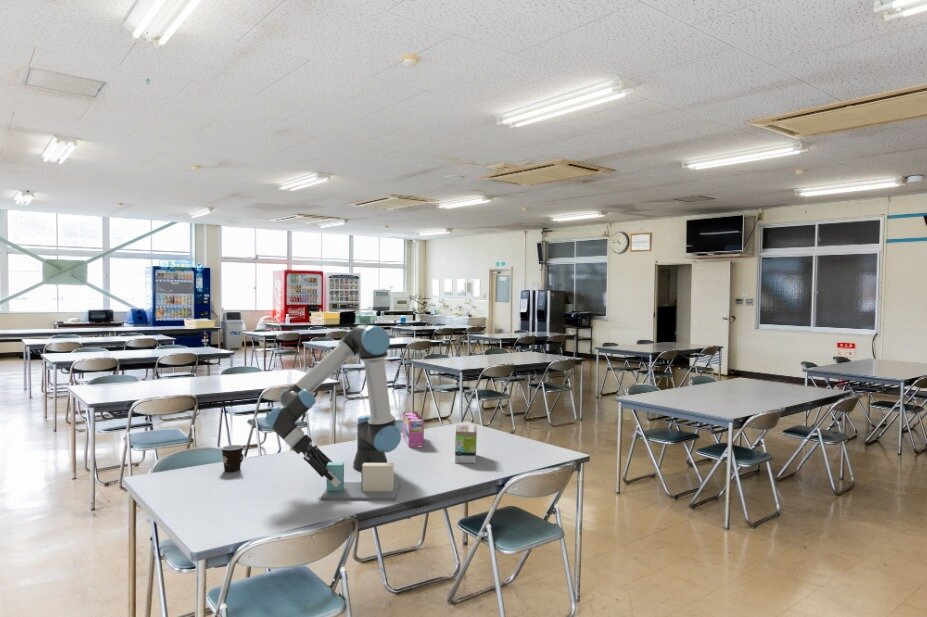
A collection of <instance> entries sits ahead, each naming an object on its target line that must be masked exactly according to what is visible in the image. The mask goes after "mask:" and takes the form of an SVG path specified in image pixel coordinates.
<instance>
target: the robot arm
mask: <svg viewBox="0 0 927 617" xmlns="http://www.w3.org/2000/svg"><path fill="white" fill-rule="evenodd" d="M390 344H391V339H390V336H389V333H388V332H387V330H385V329H384V328H383V327H380V326H378V325H375V324H374V325H373V324H372V325H371V324H363V323H362V324H359V325H357V326H355V327H353V328H352V329H351V330H350V331H348V332H347V333H346V334H345V335H344V336H343V337H342V338H341V339H339V340H338V345H337V346H335V347H334V348H333V349H332V350H331V351H329V353H328V354H326V355H325V356H324V357H323V358H322V359H321V360H320V361H318V363H317V364H316V365H315V366H313V367H311V368H310V370H309V371H308V372H307V373H306V374H304V376H302V377H301V378H300V379H299V380H297V382H296V383H295V384H293V385H292V386H291V387H290V388H287V389H286V388H285V389H284V390H282V391H281V392H280V395H279V402H280V404H281V405H282V406H283V407H280V406H276V407H274V408H273V409H272V410H271V411H270V412H269V413H268V414H266V416H265V418H264V421H265V423H266V424H267V425H268V426H269V427H270V428H271V430H272V431H273V432H275V433H276V434H277V435H278V436H279V437H280V438H281V439H282V440H283V441H284V442H285V444H287V445H288V446H289V447H292V448H291V449H292V450H293V451H294V452H295V453H296V454H297V455H300V454H301V453H302V454H303V456H304V457H303V458H302V460H304V461H305V462H307V463H308V465H310V466H311V468H313V470H314V471H315V472H316V473H317V474H318V475H319V476H320V477H321V478H323V477H324V478H326V480H327V479H328V480H329V481H330V482H331V483H332V484H333V485H334V486H335V487H337V486H338V485H339V484H340V483H341V481H340V480H339V479H338V478H337V477H336V476H335V475H334V474H333V473H332V472H331V471H330V470H329V471H328V470H327V464H328V463H329V462H333V461H332V460H331V459H330V458H329V457H328V456H327V455H326V454H325V453H324V452H323V451H322V450H321V449H320V448H319V447H318V446H317V445H314V446H313V445H312V444H311V443H312V442H313V439H312V438H311V437H310V436H309V435H308V434H305V431H303V428H302V427H301V426H300V427H299V425H298V424H297V421H299V420H300V419H301V417H303V416H304V415H305V414H306V413H307V412H308V411H309V410H310V409H312V407H313V406H314V405H315V404H316V403H317V399H316V398H315V397H314V395H313V394H312V393H313V392H314V391H315V390H316V389H317V388H319V387H320V386H321V385H322V384H323V383H325V381H326V380H327V379H328V378H330V377H331V376H332V375H333V374H334V373H335V372H336V371H337V370H338V369H340V368H341V367H342V366H343V365H344V364H346V362H347V361H348V360H350V358H355V357H356V356H357V355H359V360H361V361H362V362H363V364H364V372H365V381H366V387H367V389H366V390H367V396H368V398H367V399H368V406H369V412H370V414H368V415H361V416H359V417H358V418H357V424H356V427H357V428H356V430H357V433H356V434H357V436H356V437H357V439H356V440H357V441H356V442H357V449H356V454H355V457H354V460H353V466H352V467H353V469H354V470H357V471H360V472H362V464H363V463H388V459H387V455H386V453H390V452H392V451H394V450H395V449H397V448H398V446H399V444H400V442H401V440H402V433H401V431H400V429H399V428H398V427H397V424H396V423H397V422H396V418H395V416H394V415H393V414H392V412H391V404H390V396H389V388H388V386H389V385H388V378H387V371H386V370H387V369H386V362H385V359H386V358H387V357H388V349H389V347H390Z"/></svg>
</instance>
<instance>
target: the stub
mask: <svg viewBox="0 0 927 617" xmlns="http://www.w3.org/2000/svg"><path fill="white" fill-rule="evenodd" d="M326 469H327V470H328V471H329V470H330V471H331V472H332V473H333V474H334V475H335V476H336V477H337V478H338V479H339V480H340V481H341V483H340V484H339V485H338V486H337V487H335V486H334V485H333V484H332V483H331V482H330V481H329V480H328V479H327V478H326V488H327V491H342V490H343V488H344V482H345V462H343V461H332V462H329V463H328V464H327V468H326Z"/></svg>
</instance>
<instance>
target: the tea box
mask: <svg viewBox="0 0 927 617" xmlns="http://www.w3.org/2000/svg"><path fill="white" fill-rule="evenodd" d="M477 428H478V426H477V425H473V424H472V425H471V424H470V425H468V424H456V428H455V441H454V442H455V443H454V463H457V464H475V463H476V461H477V438H478V437H477V436H478V435H477V432H478V429H477Z"/></svg>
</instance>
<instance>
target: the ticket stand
mask: <svg viewBox="0 0 927 617" xmlns="http://www.w3.org/2000/svg"><path fill="white" fill-rule="evenodd" d="M394 464H395V463H394V462H387V463H363V464H362V471H361V481H344V488H343V490H342V491H327V487H326V488H325V490H323V493H322V495H321V496H320V501H396V497H397V495H398V491H399V487H400V481H399V482H397V481H395V480H394V474H395V473H394V472H395V470H394V469H395V468H394V466H395V465H394Z"/></svg>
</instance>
